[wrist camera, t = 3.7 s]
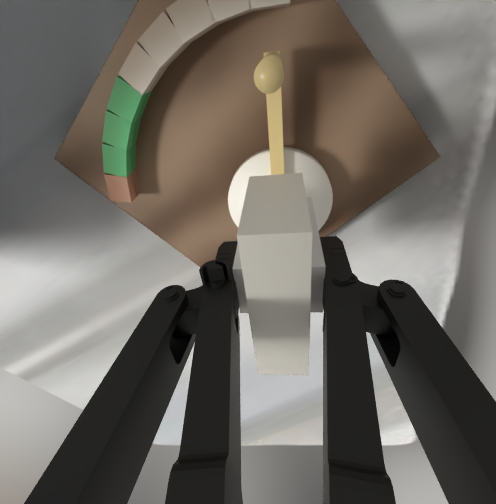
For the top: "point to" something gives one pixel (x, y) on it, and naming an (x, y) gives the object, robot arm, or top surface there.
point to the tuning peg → (278, 235)
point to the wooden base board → (236, 114)
